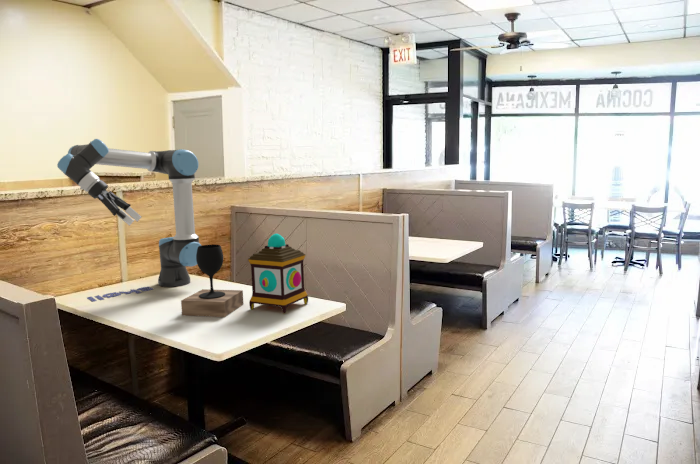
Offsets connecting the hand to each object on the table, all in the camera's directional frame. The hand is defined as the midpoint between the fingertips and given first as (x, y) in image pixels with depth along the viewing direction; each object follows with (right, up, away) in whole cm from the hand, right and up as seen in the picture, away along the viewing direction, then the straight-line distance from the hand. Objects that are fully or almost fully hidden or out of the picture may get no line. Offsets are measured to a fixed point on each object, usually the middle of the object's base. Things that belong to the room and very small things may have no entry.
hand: (135, 221), depth 225 cm
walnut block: (+33, -36, -5) cm, 49 cm away
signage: (-17, -33, +26) cm, 45 cm away
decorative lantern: (+59, -35, -2) cm, 69 cm away
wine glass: (+33, -30, -6) cm, 45 cm away
